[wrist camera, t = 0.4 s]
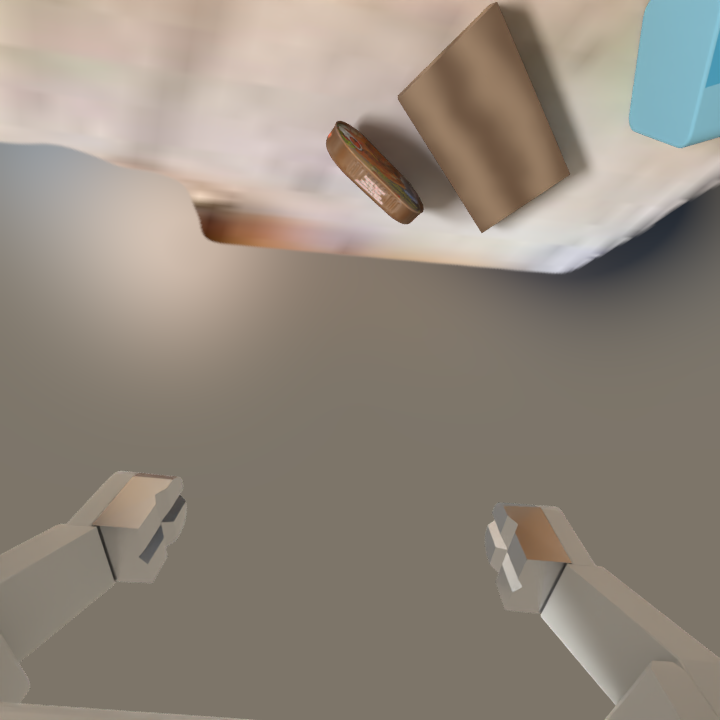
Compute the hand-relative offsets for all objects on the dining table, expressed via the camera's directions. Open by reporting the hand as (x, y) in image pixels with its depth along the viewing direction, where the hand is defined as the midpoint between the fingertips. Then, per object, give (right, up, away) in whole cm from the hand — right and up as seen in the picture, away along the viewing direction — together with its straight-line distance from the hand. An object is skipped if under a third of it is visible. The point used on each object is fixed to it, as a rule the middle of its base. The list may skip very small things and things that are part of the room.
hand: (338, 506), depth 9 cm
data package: (+34, +37, +30) cm, 59 cm away
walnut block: (+16, +33, +36) cm, 51 cm away
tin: (+3, +31, +39) cm, 50 cm away
